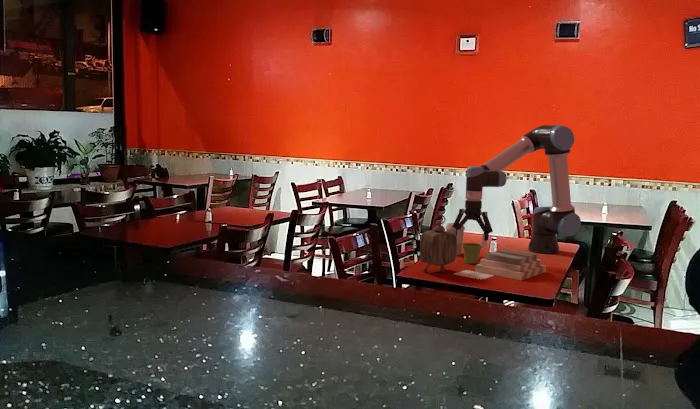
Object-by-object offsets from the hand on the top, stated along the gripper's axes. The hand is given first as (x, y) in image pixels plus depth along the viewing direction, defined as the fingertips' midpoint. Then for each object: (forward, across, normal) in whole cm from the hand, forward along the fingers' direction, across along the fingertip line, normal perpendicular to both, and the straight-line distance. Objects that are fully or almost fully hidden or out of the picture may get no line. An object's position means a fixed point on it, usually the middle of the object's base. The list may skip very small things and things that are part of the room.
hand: (471, 245), depth 290 cm
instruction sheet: (+8, +14, -20) cm, 26 cm away
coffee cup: (+8, -17, +11) cm, 22 cm away
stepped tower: (+8, +22, -3) cm, 24 cm away
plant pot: (+8, 0, 0) cm, 9 cm away
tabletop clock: (+9, 0, -26) cm, 27 cm away
